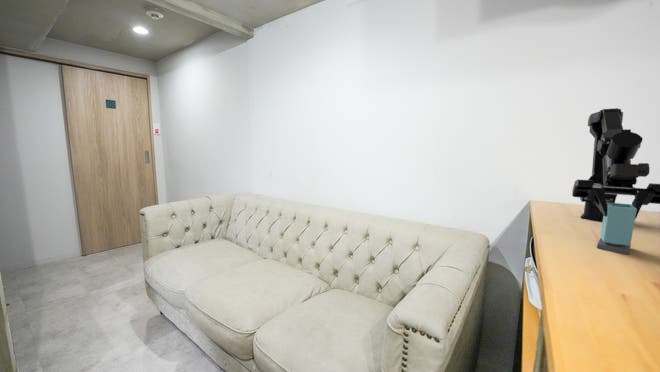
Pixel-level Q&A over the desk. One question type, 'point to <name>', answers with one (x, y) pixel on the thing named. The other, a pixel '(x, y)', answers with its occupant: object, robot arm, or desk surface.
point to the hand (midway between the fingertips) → (619, 217)
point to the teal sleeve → (618, 223)
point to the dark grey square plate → (613, 247)
